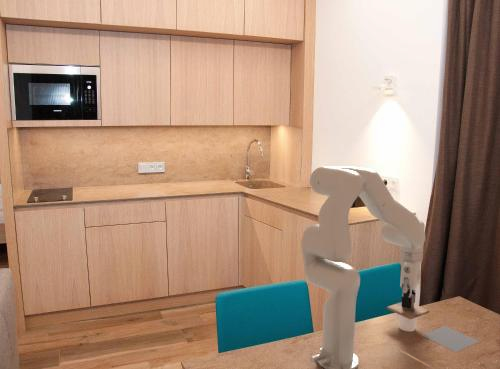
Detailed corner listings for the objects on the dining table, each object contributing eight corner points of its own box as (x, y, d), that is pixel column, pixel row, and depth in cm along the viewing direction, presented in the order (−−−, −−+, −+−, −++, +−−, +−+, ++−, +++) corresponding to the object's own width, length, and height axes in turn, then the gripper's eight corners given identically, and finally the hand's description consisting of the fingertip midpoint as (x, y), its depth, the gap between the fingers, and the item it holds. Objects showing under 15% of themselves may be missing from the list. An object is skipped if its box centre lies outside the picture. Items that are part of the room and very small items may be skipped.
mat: (455, 353, 146) (455, 352, 146) (421, 336, 157) (421, 335, 156) (479, 342, 152) (479, 341, 152) (444, 327, 163) (445, 326, 163)
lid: (410, 319, 154) (411, 303, 153) (387, 308, 163) (387, 293, 162) (429, 312, 160) (430, 297, 159) (405, 302, 168) (406, 287, 167)
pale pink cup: (420, 333, 159) (421, 314, 158) (400, 333, 159) (401, 314, 158) (413, 324, 166) (414, 306, 164) (394, 324, 166) (395, 306, 165)
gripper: (416, 263, 149) (413, 316, 152) (427, 250, 163) (424, 299, 166) (393, 259, 153) (390, 310, 156) (406, 247, 167) (403, 294, 170)
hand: (408, 304), depth 161 cm, fingers open, 4 cm apart
